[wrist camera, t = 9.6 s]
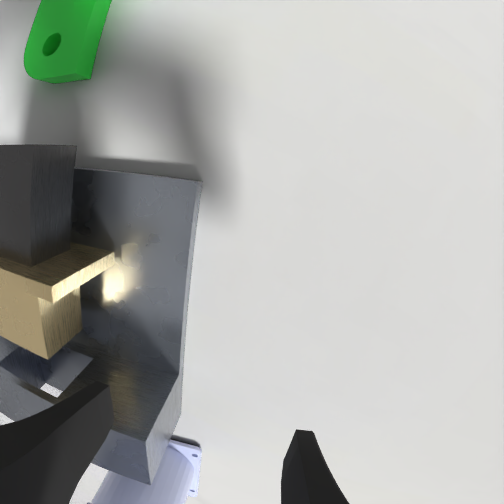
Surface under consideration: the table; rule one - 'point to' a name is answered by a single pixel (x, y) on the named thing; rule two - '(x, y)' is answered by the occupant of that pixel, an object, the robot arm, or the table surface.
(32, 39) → the mechanical part
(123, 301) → the block
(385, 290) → the table surface
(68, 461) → the robot arm
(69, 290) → the grey and tan block
